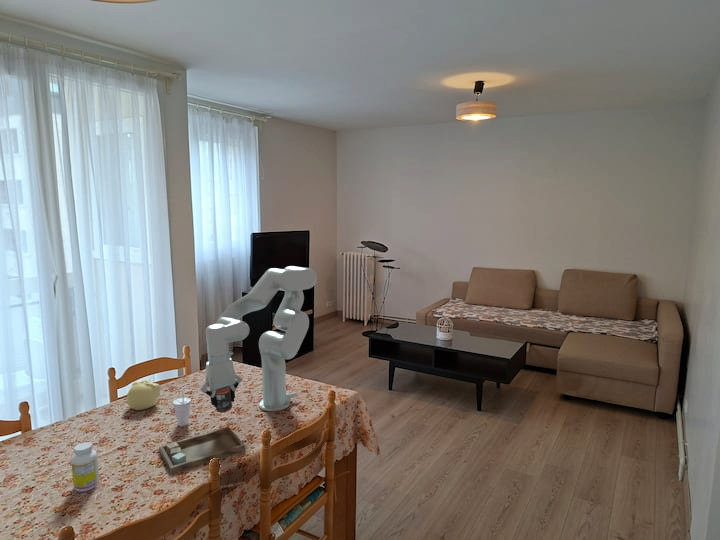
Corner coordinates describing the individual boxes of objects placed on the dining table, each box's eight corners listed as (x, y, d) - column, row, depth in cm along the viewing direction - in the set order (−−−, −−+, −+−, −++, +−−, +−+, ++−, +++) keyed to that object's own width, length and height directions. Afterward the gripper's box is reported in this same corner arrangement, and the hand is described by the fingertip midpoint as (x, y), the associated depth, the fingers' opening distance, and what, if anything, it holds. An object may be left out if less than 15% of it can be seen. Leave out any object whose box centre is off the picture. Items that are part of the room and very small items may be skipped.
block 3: (180, 460, 153) (179, 452, 152) (186, 463, 151) (185, 454, 151) (172, 465, 150) (171, 456, 150) (178, 467, 149) (178, 459, 148)
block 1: (175, 450, 159) (175, 441, 159) (179, 453, 157) (178, 445, 157) (166, 453, 157) (166, 445, 157) (170, 456, 155) (170, 448, 155)
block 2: (181, 455, 156) (180, 447, 155) (181, 460, 153) (180, 451, 153) (171, 457, 155) (170, 448, 154) (171, 462, 152) (170, 453, 151)
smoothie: (186, 429, 174) (184, 394, 172) (170, 428, 176) (168, 392, 174) (195, 421, 181) (193, 387, 179) (180, 420, 182) (178, 386, 180)
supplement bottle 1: (80, 479, 143) (77, 440, 141) (103, 478, 144) (100, 439, 142) (69, 493, 137) (65, 452, 135) (93, 492, 137) (89, 451, 135)
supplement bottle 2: (226, 403, 180) (223, 376, 178) (235, 408, 176) (233, 380, 174) (212, 410, 175) (209, 381, 173) (221, 414, 172) (219, 385, 169)
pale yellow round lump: (164, 401, 199) (163, 377, 197) (147, 414, 187) (145, 388, 186) (140, 399, 201) (138, 375, 199) (121, 411, 189) (119, 386, 188)
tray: (228, 433, 172) (228, 426, 172) (245, 452, 159) (244, 445, 159) (159, 453, 158) (158, 446, 158) (171, 475, 145) (170, 468, 145)
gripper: (237, 349, 180) (241, 393, 183) (192, 360, 170) (197, 406, 173) (245, 354, 174) (249, 399, 177) (198, 366, 164) (203, 414, 167)
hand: (223, 402), depth 175 cm, fingers closed on supplement bottle 2, 6 cm apart
